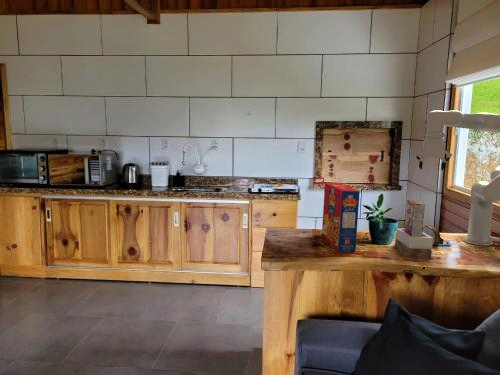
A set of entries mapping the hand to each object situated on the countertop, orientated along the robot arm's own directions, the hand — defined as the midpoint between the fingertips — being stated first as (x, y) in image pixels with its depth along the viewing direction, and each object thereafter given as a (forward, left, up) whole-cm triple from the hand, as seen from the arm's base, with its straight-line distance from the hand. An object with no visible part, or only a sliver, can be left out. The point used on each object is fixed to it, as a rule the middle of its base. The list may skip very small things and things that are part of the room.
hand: (431, 169), depth 191 cm
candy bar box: (+8, +27, -30) cm, 41 cm away
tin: (-2, +7, -37) cm, 37 cm away
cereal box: (+41, +29, -37) cm, 62 cm away
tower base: (+7, +27, -37) cm, 47 cm away
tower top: (+7, +27, -32) cm, 43 cm away
